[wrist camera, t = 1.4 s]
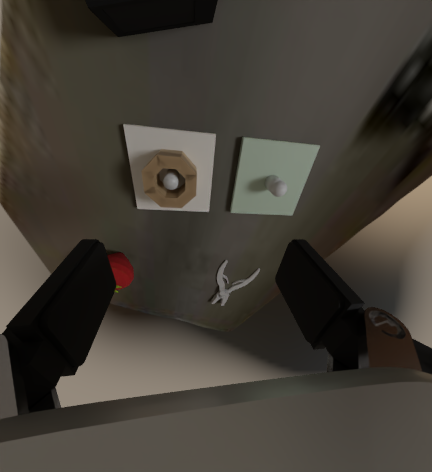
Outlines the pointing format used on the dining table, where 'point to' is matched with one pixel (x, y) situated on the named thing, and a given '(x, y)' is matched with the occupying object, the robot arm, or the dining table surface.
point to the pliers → (222, 292)
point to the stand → (196, 149)
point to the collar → (156, 186)
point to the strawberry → (121, 270)
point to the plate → (271, 175)
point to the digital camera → (151, 14)
